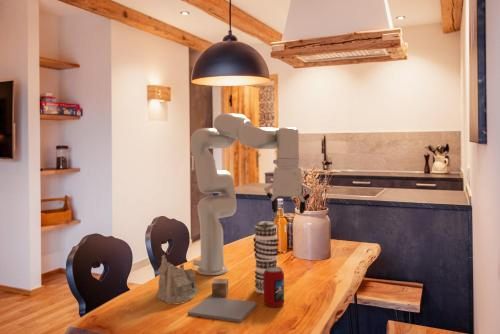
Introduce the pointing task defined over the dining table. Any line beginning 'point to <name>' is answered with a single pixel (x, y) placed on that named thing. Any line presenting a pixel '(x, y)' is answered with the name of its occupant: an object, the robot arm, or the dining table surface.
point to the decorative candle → (264, 251)
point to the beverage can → (273, 286)
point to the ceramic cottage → (175, 283)
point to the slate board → (223, 309)
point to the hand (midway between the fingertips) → (288, 212)
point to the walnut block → (220, 288)
